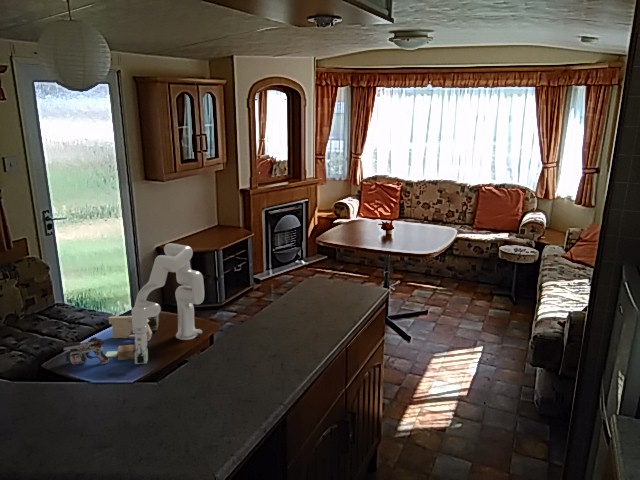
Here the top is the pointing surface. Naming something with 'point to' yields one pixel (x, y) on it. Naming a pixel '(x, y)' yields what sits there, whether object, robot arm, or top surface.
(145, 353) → the sage cube
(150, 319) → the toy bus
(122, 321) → the gun
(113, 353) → the sage tile
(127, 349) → the walnut base
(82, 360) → the toy blaster
